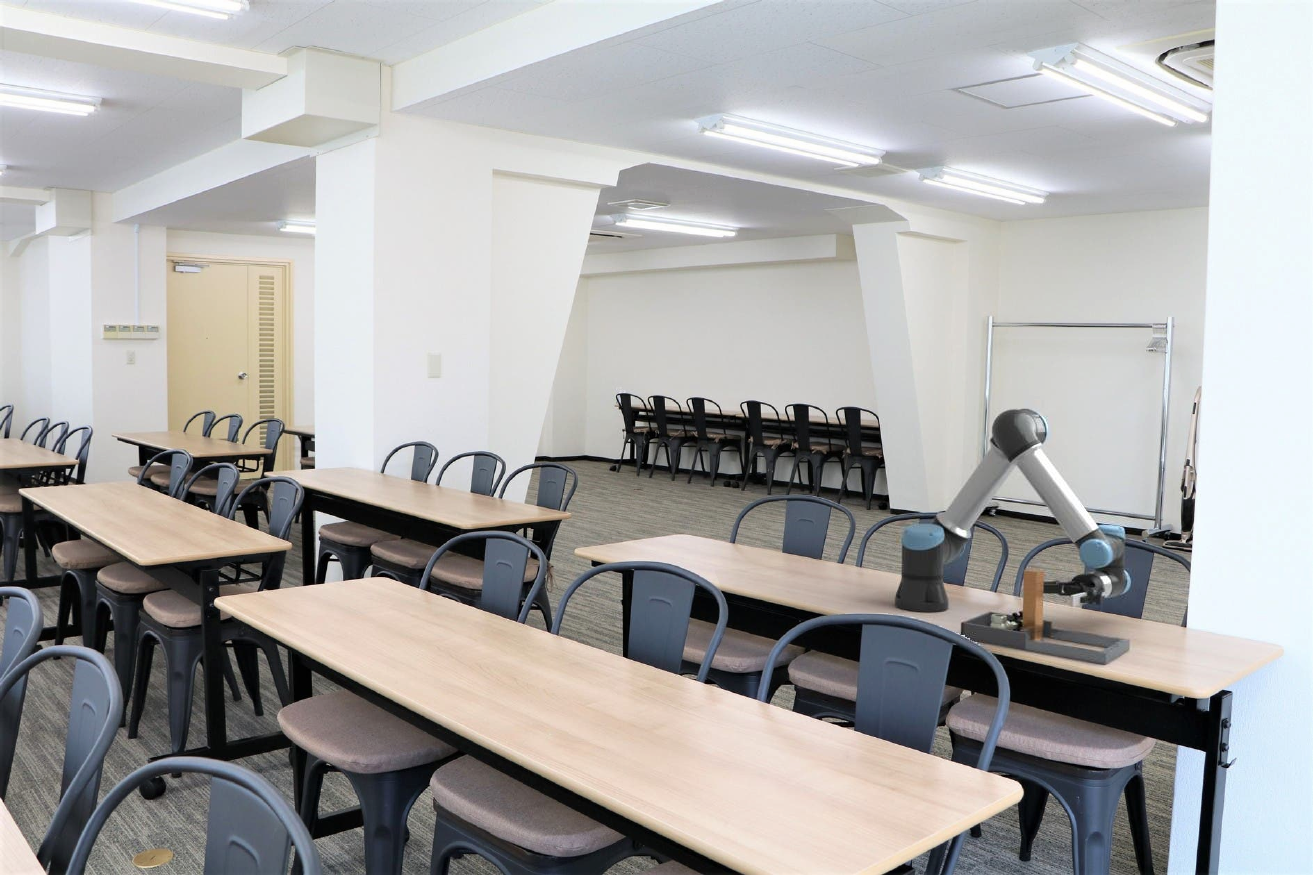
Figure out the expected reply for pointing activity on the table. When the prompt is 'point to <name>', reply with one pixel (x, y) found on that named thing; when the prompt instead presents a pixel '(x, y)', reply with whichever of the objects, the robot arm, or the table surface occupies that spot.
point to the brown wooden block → (1033, 604)
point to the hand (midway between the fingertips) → (1046, 596)
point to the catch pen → (997, 631)
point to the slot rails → (1112, 651)
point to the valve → (1002, 622)
